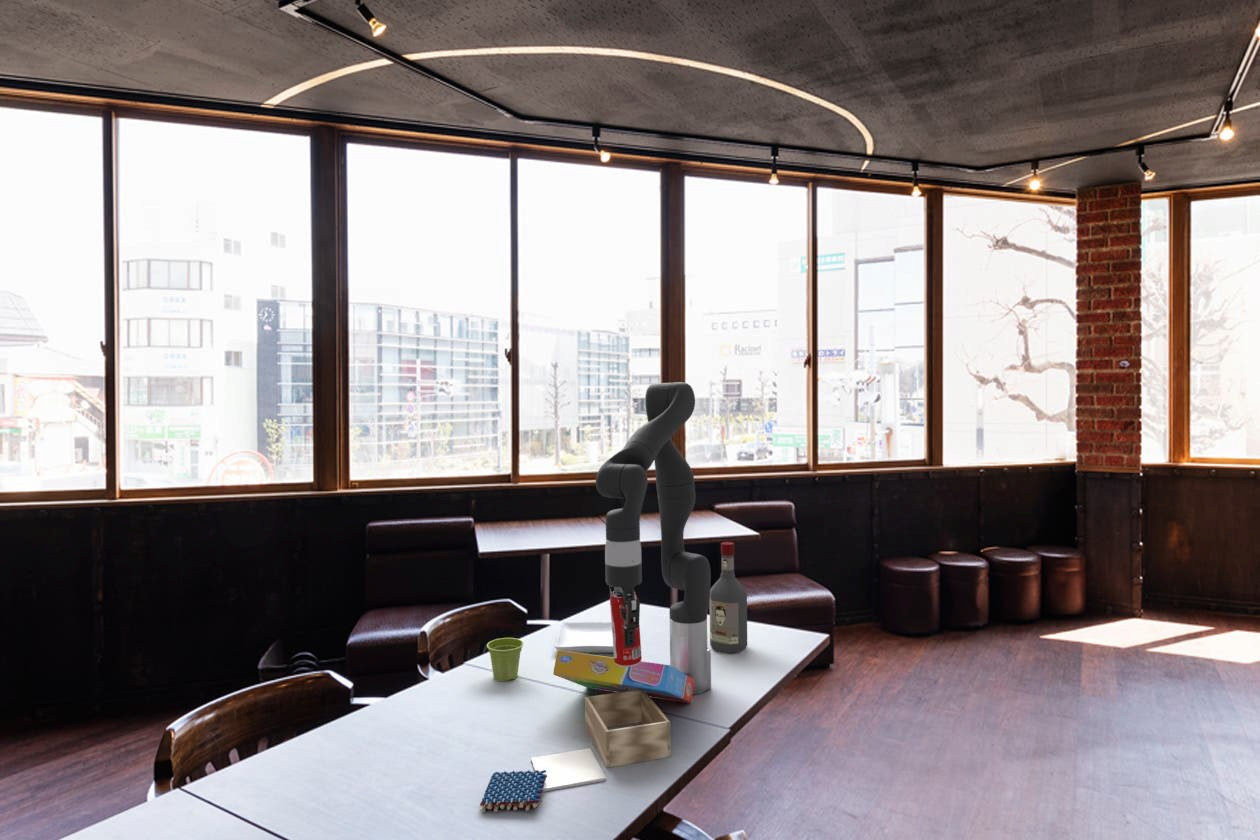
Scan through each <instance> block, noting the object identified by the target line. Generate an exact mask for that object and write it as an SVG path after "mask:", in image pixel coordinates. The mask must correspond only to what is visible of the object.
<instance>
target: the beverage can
mask: <svg viewBox="0 0 1260 840" xmlns="http://www.w3.org/2000/svg"><path fill="white" fill-rule="evenodd" d="M613 592H616V591H613ZM613 592H612V593H611V598H610V597H609V605H610V621H611V622H612V637H613V651H614V653H613V657H614V662H615V663H616V664H617V665H618V666H621V667H632V666H635V665H637V664H639V663H640V661H642V660H643V659H642V643H641V633H640V631H641V629H640V628H641V627H640V625H639V628H635V646H634V647H625V646H624V628H623V620H622V618H621V617H620V605H621V606H622V608H623V612H624V613H626V608H625V607H624V606H623V600H622V597H617V596H616V595H619V594H618V593H615V594H614V593H613ZM634 593H635V594H636V599H638V595H637V593H636V591H635V590H634ZM635 594H634V595H635ZM618 600H619V602H618ZM630 622H632V618H630Z"/></svg>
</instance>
